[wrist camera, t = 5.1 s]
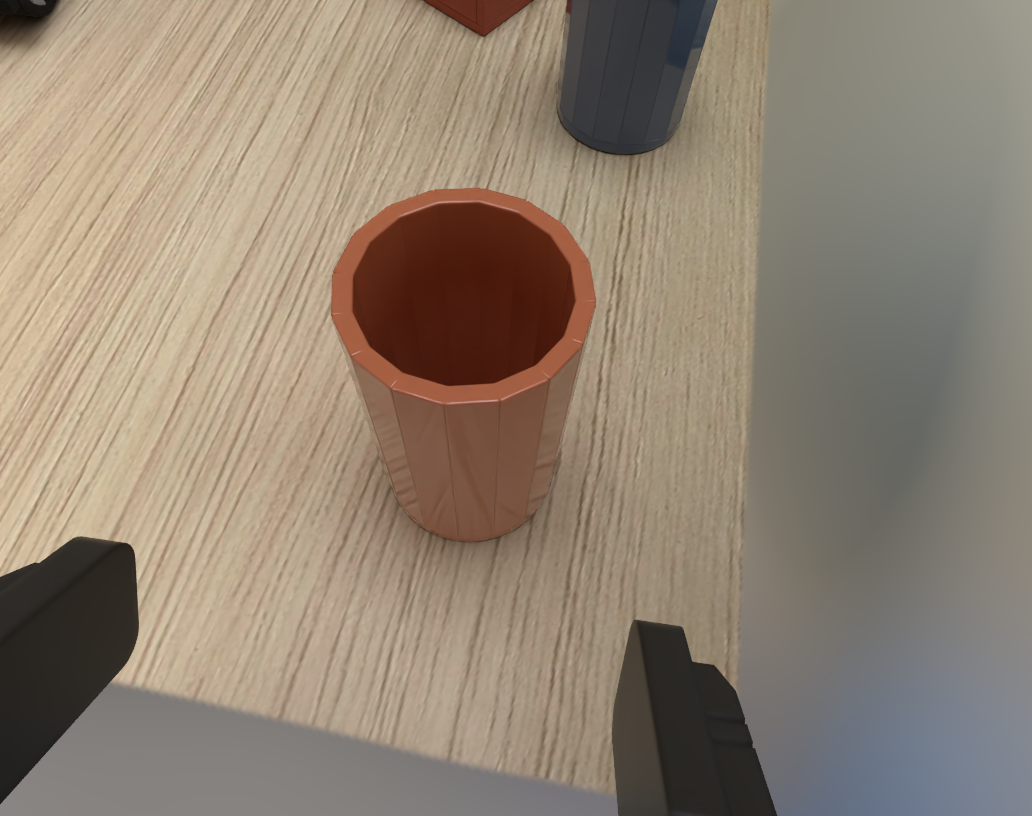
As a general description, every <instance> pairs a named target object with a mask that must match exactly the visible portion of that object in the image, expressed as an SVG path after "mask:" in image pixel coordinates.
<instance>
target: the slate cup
mask: <svg viewBox="0 0 1032 816" xmlns="http://www.w3.org/2000/svg"><path fill="white" fill-rule="evenodd" d="M716 4H717V0H567V6H566V15H565V24H564V33H563V42H562V51H561V60H560V69H559V78H558V87H557V95H558V97H557V111H558V115H559V118H560V120H561V122H562V124H563V125H564V127H565V128H566V129H567V131H568V132H569V133H570V134H571V135H572V136H574V137H575V138H576V139H577V140H579V141H580V142H582V143H584V144H586V145H587V146H589V147H592V148H594V149H597V150H600V151H603V152H608V153H614V154H637V153H642V152H646V151H649V150H652V149H654V148H657V147H659V146H660V145H662V144H664V143H665V142H666V141H667V140H669V139H670V138H671V136H672V135H673V134H674V133H675V131H676V130H677V128H678V125H679V122H680V119H681V116H682V113H683V110H684V107H685V103H686V100H687V97H688V94H689V90H690V87H691V84H692V81H693V78H694V74H695V71H696V68H697V65H698V61H699V58H700V55H701V52H702V49H703V45H704V42H705V39H706V36H707V32H708V29H709V26H710V23H711V20H712V16H713V13H714V10H715V7H716Z"/></svg>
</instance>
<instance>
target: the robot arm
mask: <svg viewBox="0 0 1032 816" xmlns="http://www.w3.org/2000/svg"><path fill="white" fill-rule="evenodd" d="M138 630H139V619H138V600H137V582H136V563H135V554H134V550H133V548H132V547H131V546H130V545H129V544H128V543H122V542H115V541H108V540H102V539H95V538H88V537H76V538H73V539H72V540H70V541H69V542H67V543H66V544H65V545H63V546H62V547H60V548H59V549H58V550H56V551H55V552H54V553H52V554H51V555H50V556H48V557H47V558H46V559H44V560H43V561H41V562H40V563H33V564H30V565H28V566H25V567H23V568H21V569H18V570H16V571H14V572H11V573H9V574H6V575H4V576H2V577H0V804H1V803H2V802H3V800H4V799H5V798H6V797H7V796H8V795H9V794H10V793H11V792H12V791H13V789H14V788H15V787H16V786H17V785H18V784H19V783H20V782H21V781H22V779H23V778H24V777H25V776H26V775H27V774H28V773H29V771H31V769H32V768H33V767H34V766H35V765H36V764H37V763H38V762H39V761H40V759H41V758H42V757H43V756H44V755H45V754H46V752H48V750H49V749H50V748H51V747H52V746H53V745H54V744H55V743H56V742H57V740H58V739H59V738H60V737H61V736H62V735H63V734H64V733H65V732H66V730H67V729H68V728H69V727H70V726H71V725H72V724H73V723H74V722H75V720H76V719H77V718H78V717H79V716H80V715H81V714H82V713H83V712H84V710H85V709H86V708H87V707H88V706H89V705H90V704H91V703H92V701H93V700H94V699H95V698H96V697H97V696H98V695H99V693H101V691H102V690H103V689H104V688H105V687H106V686H107V685H108V684H109V683H110V681H111V680H112V679H113V678H114V677H115V676H116V675H117V674H118V673H119V671H120V670H121V669H122V668H123V667H124V666H125V664H126V663H127V661H128V660H129V658H130V656H131V654H132V652H133V649H134V647H135V644H136V640H137V636H138ZM612 743H613V755H614V767H615V779H616V790H617V802H618V814H619V816H777V814H776V811H775V808H774V805H773V802H772V799H771V796H770V793H769V790H768V787H767V784H766V781H765V778H764V775H763V771H762V769H761V765H760V763H759V760H758V756H757V754H756V750H755V748H753V746H752V744H753V742H752V738H751V735H750V732H749V730H748V726H747V724H745V717H744V714H743V711H742V708H741V705H740V702H739V699H738V696H737V693H736V691H735V690H734V688H733V687H732V686H731V685H730V684H729V682H728V681H727V680H726V679H725V678H724V676H723V675H722V674H721V673H720V672H719V670H718V669H717V668H716V667H715V666H714V665H710V664H703V663H696V662H692V659H691V656H690V652H689V648H688V644H687V640H686V637H685V633H684V630H683V628H682V627H681V626H674V625H668V624H661V623H654V622H647V621H641V620H634V621H633V623H632V625H631V628H630V632H629V637H628V641H627V646H626V651H625V656H624V660H623V665H622V670H621V675H620V679H619V684H618V689H617V693H616V698H615V704H614V712H613V725H612Z"/></svg>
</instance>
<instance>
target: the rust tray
mask: <svg viewBox="0 0 1032 816" xmlns="http://www.w3.org/2000/svg"><path fill="white" fill-rule="evenodd" d="M424 1H426V2H427V3H429V4H431V5H432V6H434V7H436V8H437V9H439V10H441V11H442V12H444V13H446V14H447V15H449V16H451V17H452V18H454V19H456V20H457V21H459V22H461V23H462V24H464V25H466V26H467V27H469V28H471V29H472V30H474V31H476V32H477V33H479V34H481V35H482V36H485V35H486V34H487V33H489V32H490V31H491V30H493V29H494V28H495V27H497V26H498V25H500V24H501V23H502V22H504V21H505V20H506V19H508V18H509V17H510V16H512V15H513V14H515V13H516V12H517V11H519V10H520V9H521V8H523V7H524V6H525V5H527V4H528V3H530V2H531V1H532V0H424Z"/></svg>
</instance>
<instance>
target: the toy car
mask: <svg viewBox="0 0 1032 816" xmlns="http://www.w3.org/2000/svg"><path fill="white" fill-rule="evenodd" d="M56 1H57V0H0V13H4V14H13V15H24V16H36V17H44V16H46V15H48V14H49V13H50V12H51V11H52V9H53V8H54V6H55V4H56Z"/></svg>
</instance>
